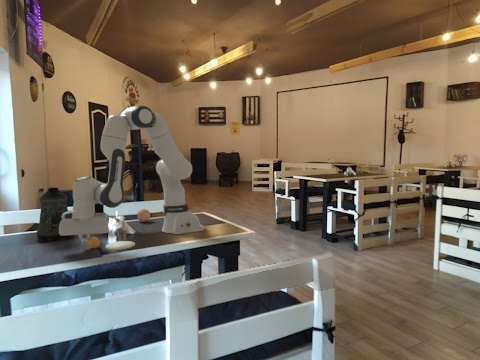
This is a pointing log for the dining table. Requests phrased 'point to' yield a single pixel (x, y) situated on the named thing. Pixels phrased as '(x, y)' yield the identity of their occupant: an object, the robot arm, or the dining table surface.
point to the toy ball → (143, 215)
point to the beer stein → (51, 215)
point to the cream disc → (120, 245)
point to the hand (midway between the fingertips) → (84, 243)
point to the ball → (93, 242)
